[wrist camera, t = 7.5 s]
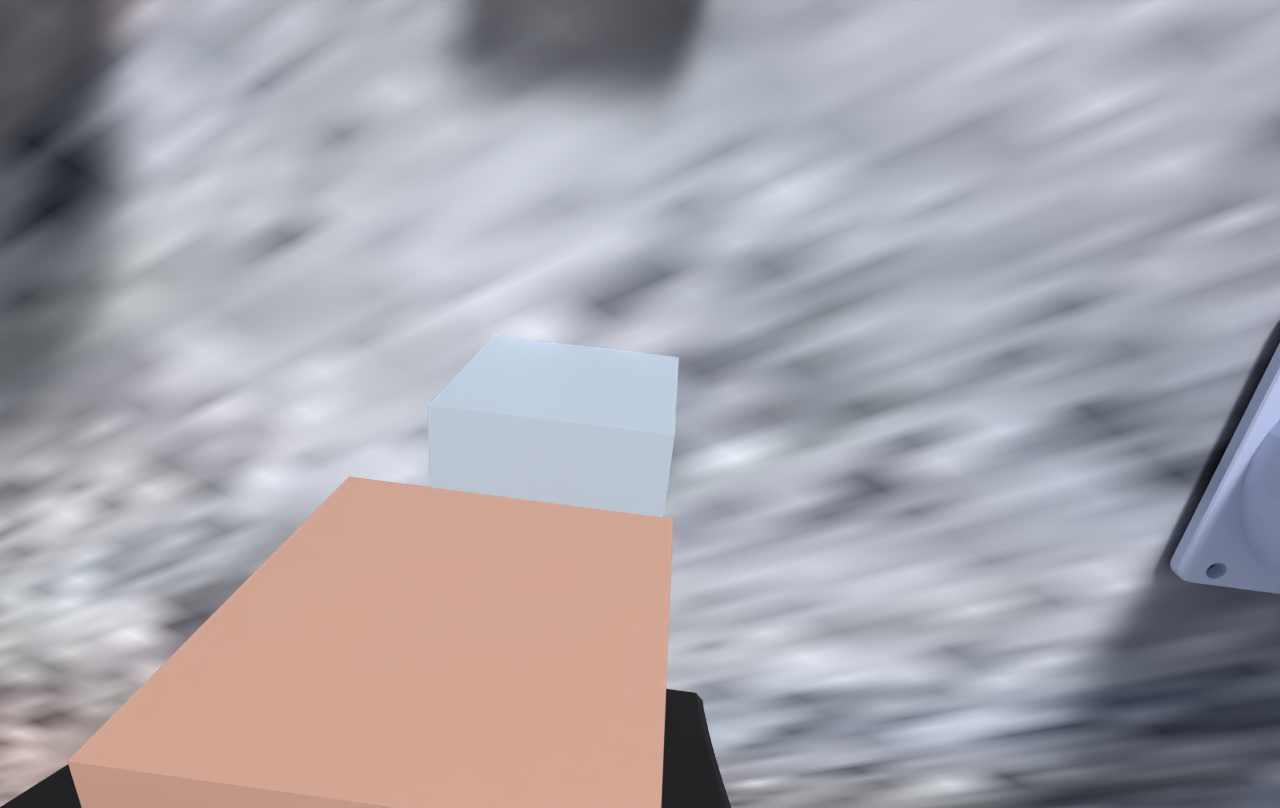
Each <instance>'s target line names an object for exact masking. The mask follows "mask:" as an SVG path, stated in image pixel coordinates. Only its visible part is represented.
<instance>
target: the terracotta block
mask: <svg viewBox="0 0 1280 808" xmlns="http://www.w3.org/2000/svg"><path fill="white" fill-rule="evenodd" d="M672 534H673V519H671V518H664V517H656V516H648V515H640V514H633V513H625V512H617V511H610V510H602V509H594V508H586V507H579V506H571V505H563V504H556V503H548V502H540V501H532V500H525V499H517V498H509V497H502V496H494V495H486V494H478V493H471V492H463V491H455V490H448V489H440V488H432V487H424V486H417V485H409V484H401V483H394V482H386V481H378V480H370V479H363V478H355V477H348V478H347V479H346V480H345V481H344V482H343V483H342V484H341V485H340V486H339V487H338V488H337V489H336V490H335V491H334V492H333V493H332V494H331V496H330V497H329V498H328V499H327V500H326V501H325V502H324V503H323V504H322V505H321V506H320V507H319V508H318V509H317V510H316V511H315V512H314V513H313V514H312V515H311V516H310V517H309V518H308V519H307V520H306V521H305V522H304V523H303V524H302V525H301V526H300V527H299V528H298V529H297V530H296V531H295V532H294V533H293V534H292V535H291V536H290V537H289V538H288V539H287V540H286V541H285V542H284V543H283V544H282V545H281V546H280V547H279V548H278V549H277V550H276V551H275V552H274V553H273V554H272V555H271V556H270V557H269V558H268V559H267V560H266V561H265V562H264V563H263V564H262V565H261V566H260V567H259V568H258V569H257V570H256V571H255V572H254V573H253V574H252V575H251V576H250V577H249V578H248V579H247V580H246V581H245V582H244V583H243V584H242V585H241V586H240V587H239V588H238V589H237V591H236V592H235V593H234V594H233V595H232V596H231V597H230V598H229V599H228V600H227V601H226V602H225V603H224V604H223V605H222V606H221V607H220V608H219V609H218V610H217V611H216V612H215V613H214V614H213V615H212V616H211V617H210V618H209V619H208V620H207V621H206V622H205V623H204V624H203V625H202V626H201V627H200V628H199V629H198V630H197V631H196V632H195V633H194V634H193V635H192V636H191V637H190V638H189V639H188V640H187V641H186V642H185V643H184V644H183V645H182V646H181V647H180V648H179V649H178V650H177V651H176V652H175V653H174V654H173V655H172V656H171V657H170V658H169V659H168V660H167V661H166V662H165V663H164V664H163V665H162V666H161V667H160V668H159V669H158V670H157V671H156V672H155V673H154V674H153V675H152V676H151V677H150V678H149V679H148V680H147V681H146V682H145V683H144V684H143V685H142V687H141V688H140V689H139V690H138V691H137V692H136V693H135V694H134V695H133V696H132V697H131V698H130V699H129V700H128V701H127V702H126V703H125V704H124V705H123V706H122V707H121V708H120V709H119V710H118V711H117V712H116V713H115V714H114V715H113V716H112V717H111V718H110V719H109V720H108V721H107V722H106V723H105V724H104V725H103V726H102V727H101V728H100V729H99V730H98V731H97V732H96V733H95V734H94V735H93V736H92V737H91V738H90V739H89V740H88V741H87V742H86V743H85V744H84V745H83V746H82V747H81V748H80V749H79V750H78V751H77V752H76V753H75V754H74V755H73V756H72V757H71V758H70V759H69V760H68V761H67V762H68V765H69V768H70V771H71V774H72V778H73V781H74V784H75V787H76V791H77V794H78V797H79V800H80V803H81V807H82V808H661V801H662V777H663V753H664V728H665V704H666V680H667V656H668V631H669V607H670V583H671V559H672Z"/></svg>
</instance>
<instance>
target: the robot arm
mask: <svg viewBox="0 0 1280 808" xmlns="http://www.w3.org/2000/svg"><path fill="white" fill-rule="evenodd" d="M1215 563H1216V564H1215ZM1213 564H1215V565H1214V566H1213V567H1212V568H1210V569H1208V568H1209V567H1210V566H1211V565H1213ZM1170 566H1171V569H1172V571H1173V572H1175V573H1176V574H1177V575H1178V576H1179V577H1180V578H1181V579H1182V580H1184V581H1187V582H1191V583H1199V584H1207V585H1214V586H1222V587H1230V588H1237V589H1245V590H1253V591H1261V592H1268V593H1276V594H1280V343H1279V345H1278V347H1277V349H1276V351H1275V353H1274V355H1273V357H1272V359H1271V361H1270V363H1269V365H1268V367H1267V369H1266V371H1265V373H1264V375H1263V377H1262V379H1261V381H1260V383H1259V385H1258V387H1257V389H1256V391H1255V393H1254V395H1253V397H1252V399H1251V401H1250V403H1249V405H1248V407H1247V409H1246V411H1245V413H1244V415H1243V417H1242V419H1241V421H1240V423H1239V425H1238V427H1237V429H1236V431H1235V433H1234V435H1233V437H1232V439H1231V441H1230V443H1229V445H1228V447H1227V449H1226V451H1225V453H1224V455H1223V457H1222V459H1221V461H1220V463H1219V465H1218V467H1217V469H1216V471H1215V473H1214V475H1213V477H1212V479H1211V481H1210V483H1209V485H1208V487H1207V489H1206V491H1205V493H1204V495H1203V497H1202V499H1201V501H1200V503H1199V505H1198V507H1197V509H1196V511H1195V513H1194V515H1193V517H1192V519H1191V521H1190V523H1189V525H1188V527H1187V529H1186V531H1185V533H1184V535H1183V537H1182V539H1181V541H1180V543H1179V545H1178V547H1177V549H1176V551H1175V553H1174V555H1173V557H1172V559H1171V563H1170ZM1207 569H1208V570H1207ZM0 808H82V807H81V803H80V800H79V797H78V794H77V791H76V787H75V784H74V781H73V778H72V774H71V771H70V768H69V765H66V766H65V767H63V768H62V769H60V770H58V771H57V772H55V773H54V774H52V775H50V776H49V777H47V778H46V779H44V780H43V781H41V782H39V783H38V784H36V785H35V786H33V787H32V788H30V789H28V790H27V791H25V792H24V793H22V794H20V795H19V796H17V797H16V798H14V799H13V800H11V801H9V802H8V803H6V804H5V805H3V806H1V807H0ZM661 808H731V805H730V802H729V799H728V796H727V793H726V790H725V787H724V784H723V781H722V777H721V774H720V771H719V768H718V764H717V761H716V758H715V754H714V750H713V747H712V743H711V739H710V735H709V731H708V727H707V722H706V718H705V713H704V708H703V701H702V699H701V698H700V697H699V696H698V695H697V694H696V693H693V692H685V691H678V690H671V689H666V704H665V728H664V753H663V777H662V801H661Z"/></svg>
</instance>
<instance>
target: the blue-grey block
mask: <svg viewBox="0 0 1280 808" xmlns="http://www.w3.org/2000/svg"><path fill="white" fill-rule="evenodd" d="M678 362H679V357H672V356H663V355H655V354H646V353H638V352H629V351H621V350H613V349H604V348H596V347H587V346H579V345H570V344H562V343H553V342H545V341H537V340H528V339H520V338H511V337H503V336H493V337H492V338H491V339H490V340H489V342H488V343H487V344H486V345H485V346H484V347H483V348H482V349H481V350H480V351H479V352H478V353H477V354H476V355H475V356H474V357H473V358H472V359H471V360H470V361H469V362H468V364H467V365H466V366H465V367H464V368H463V369H462V370H461V371H460V372H459V373H458V374H457V375H456V376H455V377H454V378H453V379H452V380H451V381H450V382H449V383H448V384H447V385H446V387H445V388H444V389H443V390H442V391H441V392H440V393H439V394H438V395H437V396H436V397H435V398H434V399H433V400H432V401H431V402H430V403H429V404H428V437H429V478H430V487H432V488H440V489H448V490H455V491H463V492H471V493H478V494H486V495H494V496H502V497H509V498H517V499H525V500H532V501H540V502H548V503H556V504H563V505H571V506H579V507H586V508H594V509H602V510H610V511H617V512H625V513H633V514H640V515H648V516H656V517H664V510H665V503H666V496H667V488H668V481H669V473H670V466H671V458H672V451H673V444H674V436H675V418H676V400H677V381H678Z"/></svg>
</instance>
